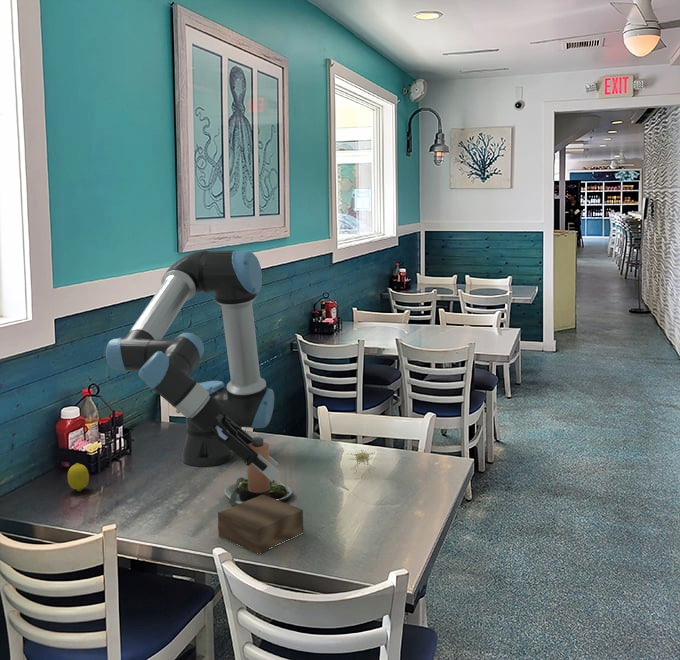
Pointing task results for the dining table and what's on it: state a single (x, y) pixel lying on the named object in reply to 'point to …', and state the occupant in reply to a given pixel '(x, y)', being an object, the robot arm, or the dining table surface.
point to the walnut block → (260, 523)
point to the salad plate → (241, 493)
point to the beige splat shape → (361, 458)
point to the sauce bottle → (255, 477)
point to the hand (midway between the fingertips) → (274, 471)
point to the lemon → (78, 477)
